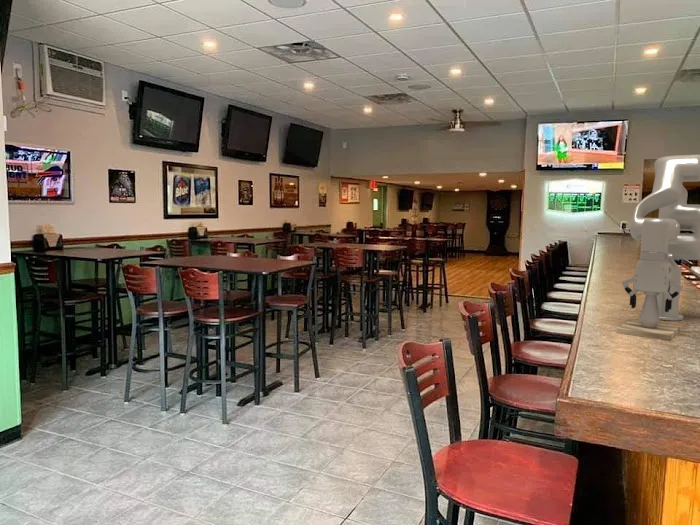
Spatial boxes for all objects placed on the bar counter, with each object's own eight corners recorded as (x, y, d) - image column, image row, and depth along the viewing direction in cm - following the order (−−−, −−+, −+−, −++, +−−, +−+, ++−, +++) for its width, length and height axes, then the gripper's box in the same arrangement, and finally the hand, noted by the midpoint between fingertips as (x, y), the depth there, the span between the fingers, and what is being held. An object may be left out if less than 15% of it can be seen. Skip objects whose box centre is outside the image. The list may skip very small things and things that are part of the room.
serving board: (629, 324, 183) (629, 319, 183) (679, 330, 174) (680, 326, 174) (616, 332, 170) (616, 328, 170) (669, 340, 160) (670, 335, 160)
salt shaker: (662, 329, 168) (665, 289, 167) (642, 328, 169) (645, 288, 168) (655, 325, 174) (657, 286, 173) (636, 324, 175) (639, 286, 174)
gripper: (686, 258, 167) (682, 311, 168) (626, 254, 178) (623, 304, 180) (683, 259, 161) (678, 314, 163) (621, 256, 172) (617, 307, 174)
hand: (649, 309), depth 171 cm, fingers open, 9 cm apart
